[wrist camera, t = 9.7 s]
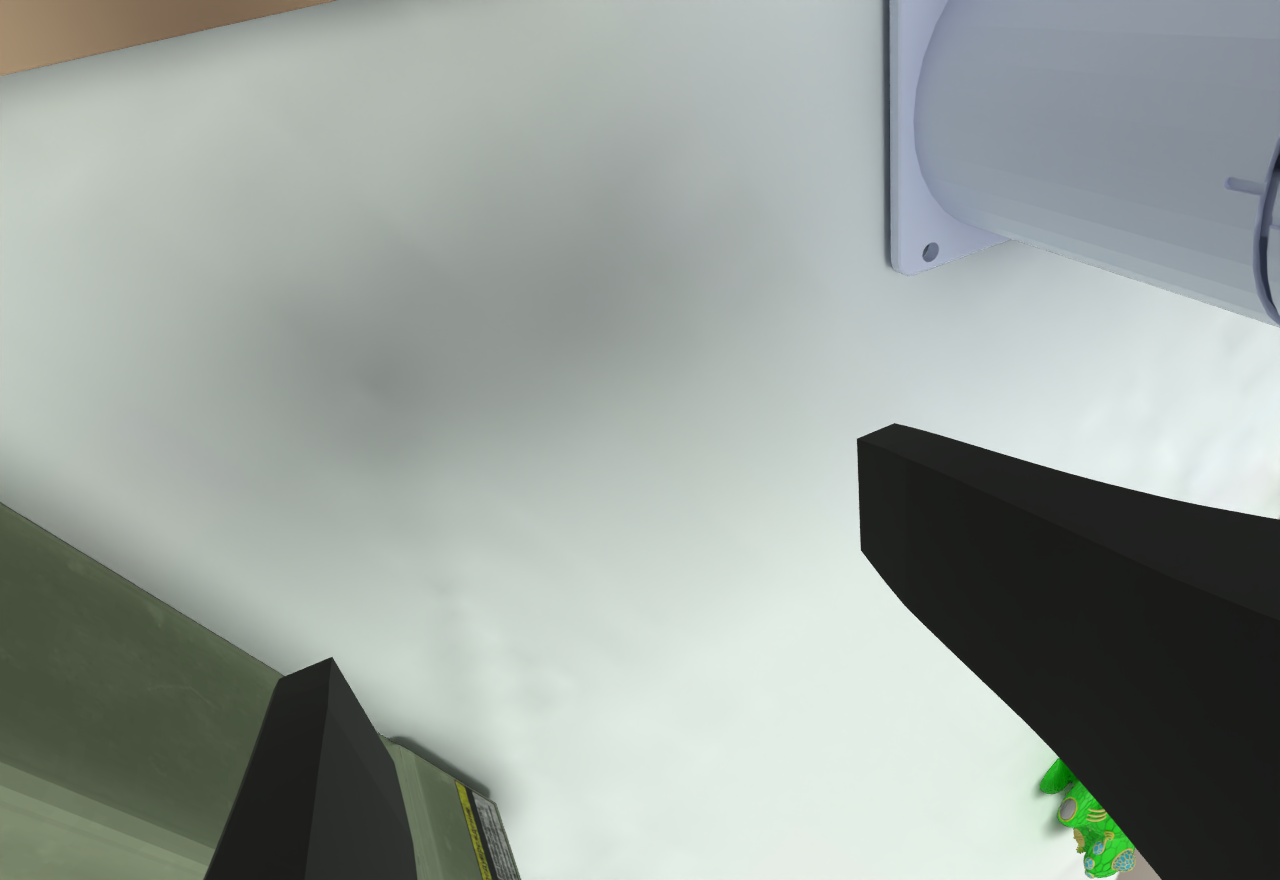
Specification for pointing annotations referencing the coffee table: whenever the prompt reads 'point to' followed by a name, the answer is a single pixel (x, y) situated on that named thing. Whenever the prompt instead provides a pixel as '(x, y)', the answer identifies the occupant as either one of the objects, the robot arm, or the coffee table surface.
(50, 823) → the handheld radio
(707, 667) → the coffee table surface
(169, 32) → the walnut hole plate
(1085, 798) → the crocodile figurine
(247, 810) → the robot arm
